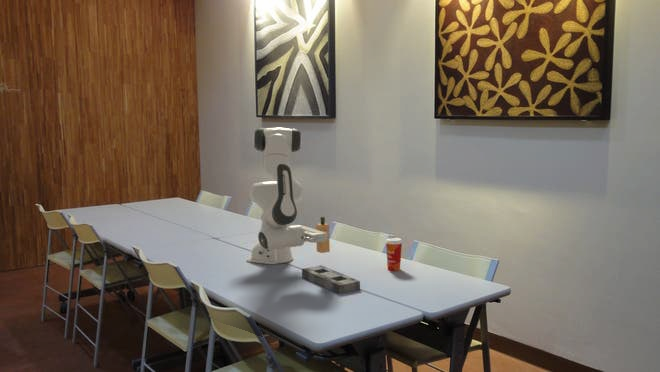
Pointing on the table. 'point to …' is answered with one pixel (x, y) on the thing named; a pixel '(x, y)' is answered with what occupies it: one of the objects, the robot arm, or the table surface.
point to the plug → (324, 246)
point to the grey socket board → (331, 279)
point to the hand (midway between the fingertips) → (324, 231)
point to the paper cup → (393, 253)
